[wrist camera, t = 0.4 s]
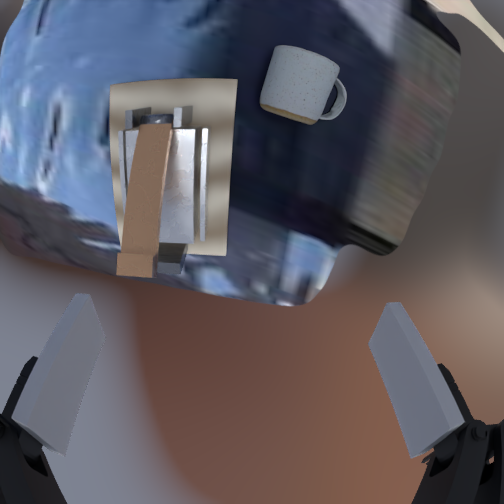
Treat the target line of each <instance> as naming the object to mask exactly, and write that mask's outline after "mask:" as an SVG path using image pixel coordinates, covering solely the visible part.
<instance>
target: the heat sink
mask: <svg viewBox="0 0 504 504" xmlns="http://www.w3.org/2000/svg"><path fill="white" fill-rule="evenodd" d="M149 114H151V107H145V108H138V109H132V110H126V111H125V129H123V130H120V131H118V141H119V165H120V180H121V192H122V202H123V212H124V215H125V206H126V198H127V191H128V185H129V178H130V172H131V166H132V161H133V155H134V150H135V145H136V140H137V135H138V131H139V126H140V118H141V116H142V115H149ZM192 114H193V106H182V107H176V108H174V121H173V127H174V128H173V133H172V139H171V145H170V151H169V157H168V164H167V171H166V179H165V186H164V195H163V204H162V213H161V224H160V235H159V249H158V265H157V273H169V274H181V271H182V268H183V264H184V261H185V257H186V254H187V251H188V244H194V241H195V238H196V234H197V231H198V170H199V140H200V126H184V125H187V124H189V123H191V122H192ZM210 134H211V126H205V127H204V128H203V129H202V150H201V184H200V241H205V238H206V234H207V220H208V179H209V154H210Z"/></svg>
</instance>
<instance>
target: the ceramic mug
mask: <svg viewBox="0 0 504 504" xmlns="http://www.w3.org/2000/svg"><path fill="white" fill-rule="evenodd" d="M339 69H340V68H339V66H338V65H337V64H336V63H334V62H333V61H331V60H330V59H328V58H326V57H324V56H321V55H319V54H317V53H313V52H311V51H308V50H305V49H302V48H298V47H294V46H286V45H279V46H276V47H275V49H274V52H273V55H272V58H271V62H270V65H269V68H268V71H267V75H266V78H265V82H264V85H263V88H262V91H261V97H260V105H261V107H262V108H263V109H264V110H266V111H269V112H272V113H275V114H278V115H281V116H284V117H287V118H290V119H293V120H296V121H299V122H303V123H306V124H310V125H312V124H314V123H316V122H317V120H318V119H324V120H331V119H333V118H335V117H337V116H338V115H339V114H340V113H341V111H342V110H343V108H344V106H345V103H346V98H347V95H346V90H345V87H344V86H343V84H342V83H341V81H340V80H339V79H338V78H337V76H338V73H339ZM334 84H335V85H336V87H337V91H338V94H337V99H336V101H335V103H334V105H333V107H332V108H331V111H330V112H329V113H327V114H324V115H321V114H322V112H323V110H324V107H325V105H326V102H327V99H328V96H329V94H330V92H331V90H332V87H333V85H334Z"/></svg>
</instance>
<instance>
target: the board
mask: <svg viewBox="0 0 504 504" xmlns="http://www.w3.org/2000/svg"><path fill="white" fill-rule="evenodd" d="M237 82H238V80H237V79H213V78H187V79H162V80H148V81H137V82H128V83H120V84H113V85H110V151H111V168H112V181H113V192H114V202H115V210H116V218H117V225H118V232H119V239H120V245H121V246H122V234H123V224H124V212H123V202H122V192H121V180H120V165H119V141H118V131H120V130H123V129H125V111H126V110H132V109H138V108H145V107H151V114H174V108H176V107H182V106H193V114H192V122H191V123H189V124H187V125H184V126H200V140H199V170H198V231H197V234H196V238H195V241H194V244H188V251H187V254H201V255H219V256H226V249H227V228H228V209H229V191H230V175H231V160H232V145H233V131H234V118H235V106H236V94H237ZM205 126H211V134H210V154H209V179H208V220H207V234H206V238H205V241H200V184H201V150H202V129H203V128H204V127H205Z"/></svg>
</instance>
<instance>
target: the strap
mask: <svg viewBox="0 0 504 504" xmlns="http://www.w3.org/2000/svg"><path fill="white" fill-rule="evenodd" d="M173 121H174V114H149V115H142V116H141V118H140V126H139V131H138V135H137V140H136V145H135V150H134V155H133V161H132V166H131V172H130V178H129V185H128V191H127V198H126V206H125V215H124V224H123V234H122V246H121V253H118V257H117V275H125V276H137V277H150V278H153V277H157V265H158V249H159V235H160V224H161V213H162V204H163V195H164V186H165V179H166V171H167V164H168V157H169V151H170V145H171V139H172V133H173V128H174V127H173Z"/></svg>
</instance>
